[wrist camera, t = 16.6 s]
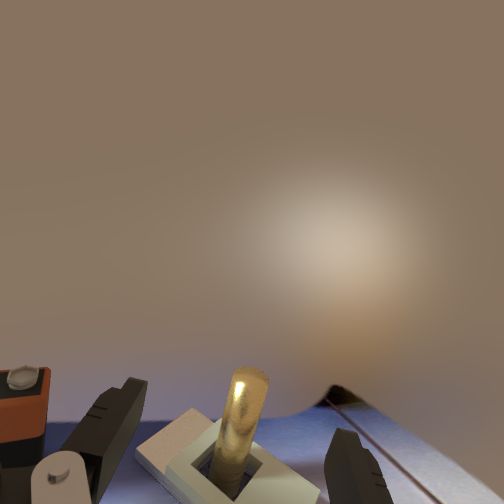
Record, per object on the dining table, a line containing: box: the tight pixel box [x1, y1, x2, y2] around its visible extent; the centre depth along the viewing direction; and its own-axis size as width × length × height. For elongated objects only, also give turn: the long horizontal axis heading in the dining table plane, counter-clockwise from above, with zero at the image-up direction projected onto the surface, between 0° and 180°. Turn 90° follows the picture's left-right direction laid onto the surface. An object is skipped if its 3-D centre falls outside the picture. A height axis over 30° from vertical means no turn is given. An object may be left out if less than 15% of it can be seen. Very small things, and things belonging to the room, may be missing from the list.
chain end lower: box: [134, 407, 257, 504], centre depth 31 cm, size 12×8×1 cm, turn 58°
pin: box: [207, 367, 269, 500], centre depth 29 cm, size 3×3×12 cm
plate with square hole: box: [165, 418, 321, 504], centre depth 29 cm, size 12×8×2 cm, turn 58°
